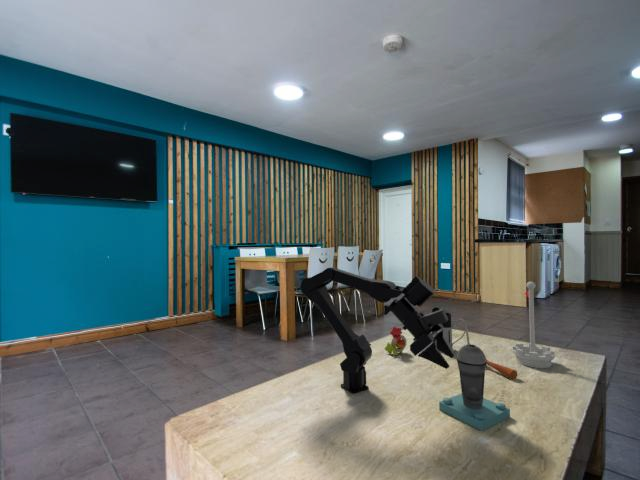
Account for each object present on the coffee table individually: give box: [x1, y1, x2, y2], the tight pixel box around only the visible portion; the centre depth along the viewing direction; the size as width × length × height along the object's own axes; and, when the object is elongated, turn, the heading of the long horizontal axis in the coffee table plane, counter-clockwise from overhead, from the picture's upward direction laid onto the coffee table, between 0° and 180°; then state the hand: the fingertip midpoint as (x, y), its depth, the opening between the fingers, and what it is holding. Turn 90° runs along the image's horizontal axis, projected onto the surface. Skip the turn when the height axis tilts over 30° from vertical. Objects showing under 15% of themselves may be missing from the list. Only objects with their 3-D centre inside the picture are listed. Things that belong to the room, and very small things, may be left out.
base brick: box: [438, 393, 511, 432], centre depth 85 cm, size 12×12×3 cm
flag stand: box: [512, 281, 556, 369], centre depth 121 cm, size 13×13×30 cm
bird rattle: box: [384, 326, 408, 356], centre depth 133 cm, size 6×11×9 cm
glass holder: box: [439, 312, 467, 353], centre depth 136 cm, size 9×14×15 cm, turn 51°
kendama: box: [486, 358, 518, 381], centre depth 115 cm, size 6×6×20 cm
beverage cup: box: [456, 326, 488, 409], centre depth 85 cm, size 7×7×20 cm
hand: (450, 362), depth 88 cm, fingers open, 9 cm apart
